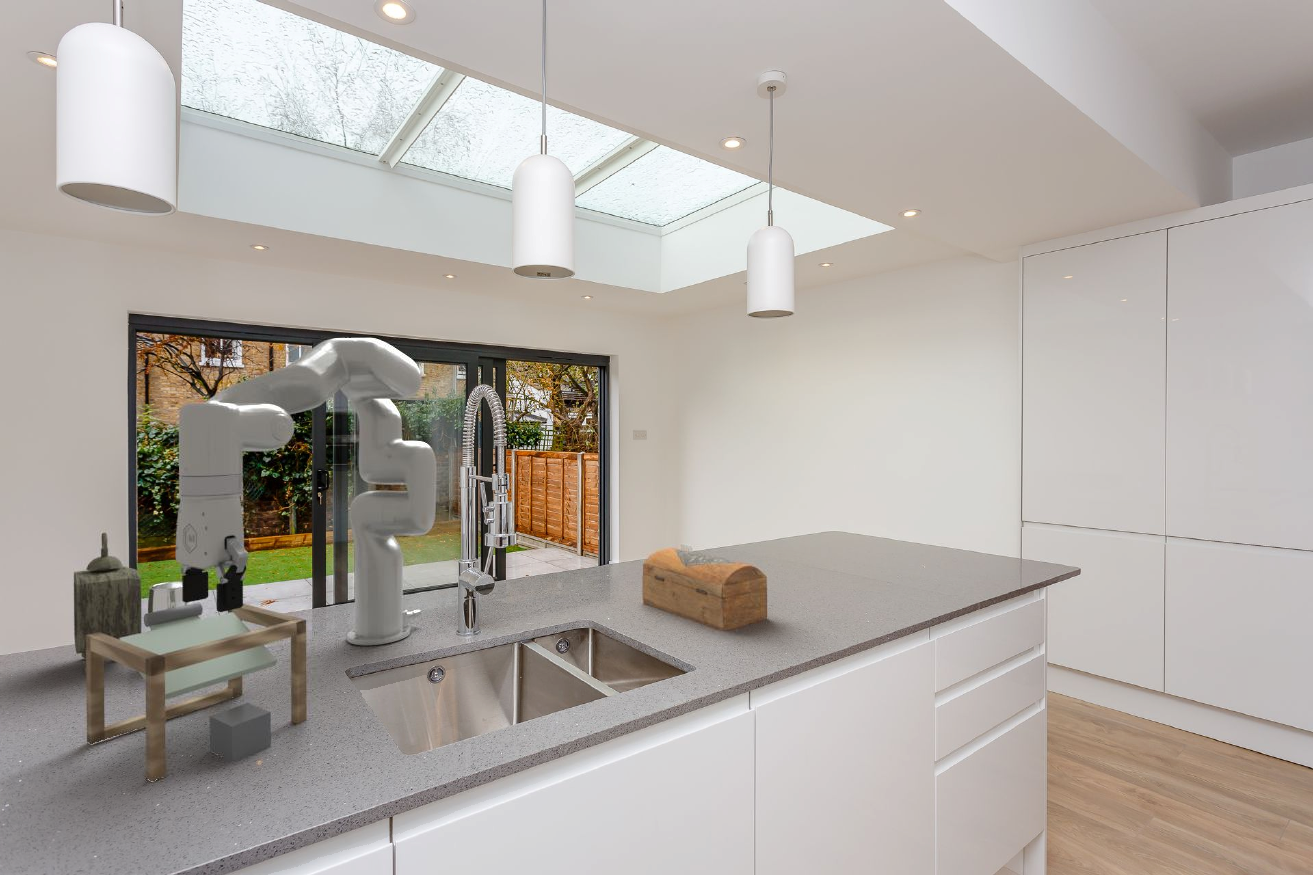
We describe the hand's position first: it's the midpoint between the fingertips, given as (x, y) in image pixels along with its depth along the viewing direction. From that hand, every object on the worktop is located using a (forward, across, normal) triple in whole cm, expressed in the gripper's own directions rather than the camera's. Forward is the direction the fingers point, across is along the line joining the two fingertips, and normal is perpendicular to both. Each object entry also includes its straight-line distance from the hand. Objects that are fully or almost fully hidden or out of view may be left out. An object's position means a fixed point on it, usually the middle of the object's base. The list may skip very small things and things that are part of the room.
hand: (212, 604), depth 91 cm
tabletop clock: (+20, -50, +5) cm, 54 cm away
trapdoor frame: (+19, -4, 0) cm, 20 cm away
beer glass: (+20, -40, +11) cm, 45 cm away
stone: (+17, +4, 0) cm, 17 cm away
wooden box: (+20, +34, +95) cm, 102 cm away
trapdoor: (+7, -5, 0) cm, 9 cm away
